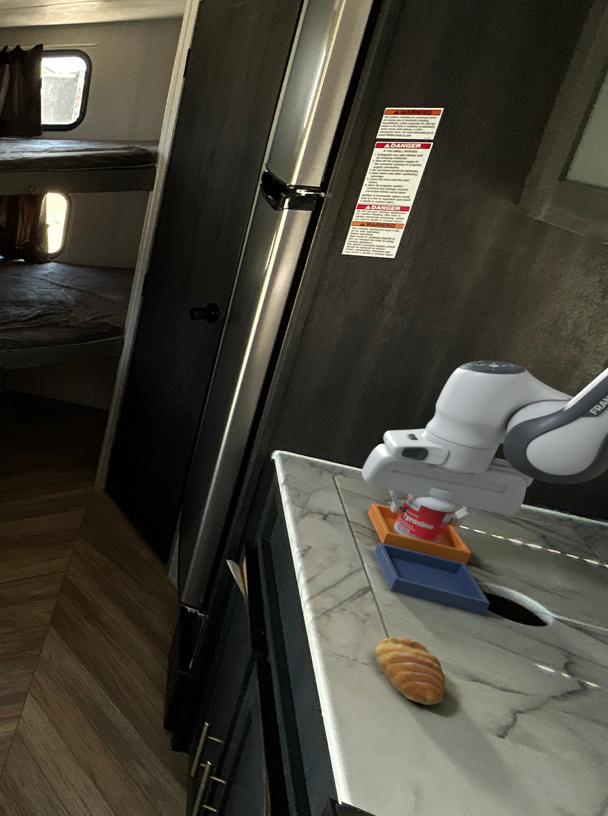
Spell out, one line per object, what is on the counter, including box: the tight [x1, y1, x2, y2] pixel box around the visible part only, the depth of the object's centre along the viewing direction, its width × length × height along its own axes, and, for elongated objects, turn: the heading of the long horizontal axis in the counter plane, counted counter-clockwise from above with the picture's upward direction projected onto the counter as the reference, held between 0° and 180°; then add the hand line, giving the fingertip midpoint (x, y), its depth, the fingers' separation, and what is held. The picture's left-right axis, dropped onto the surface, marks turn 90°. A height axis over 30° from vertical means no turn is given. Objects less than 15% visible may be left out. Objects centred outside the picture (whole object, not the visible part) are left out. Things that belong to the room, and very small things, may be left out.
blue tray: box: [373, 542, 491, 616], centre depth 103 cm, size 11×10×2 cm
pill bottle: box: [394, 488, 458, 544], centre depth 111 cm, size 6×6×11 cm
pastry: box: [374, 636, 446, 706], centre depth 85 cm, size 9×7×4 cm
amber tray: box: [367, 502, 472, 565], centre depth 113 cm, size 11×10×2 cm
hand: (423, 517), depth 112 cm, fingers closed on pill bottle, 6 cm apart
